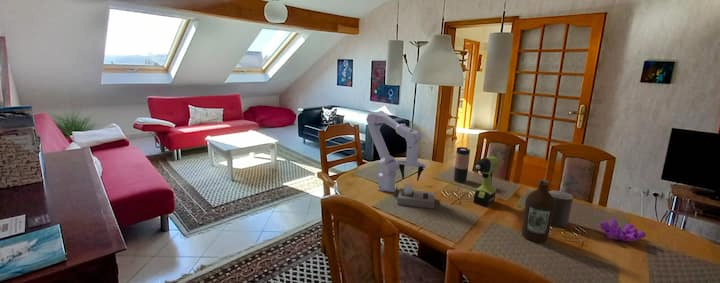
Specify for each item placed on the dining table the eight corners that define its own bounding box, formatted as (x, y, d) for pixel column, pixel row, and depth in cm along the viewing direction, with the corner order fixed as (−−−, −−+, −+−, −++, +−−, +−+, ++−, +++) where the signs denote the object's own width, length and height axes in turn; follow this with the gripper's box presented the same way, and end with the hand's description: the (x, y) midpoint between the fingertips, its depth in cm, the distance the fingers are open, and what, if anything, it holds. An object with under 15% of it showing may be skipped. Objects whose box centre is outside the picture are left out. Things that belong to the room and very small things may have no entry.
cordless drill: (477, 214, 151) (484, 164, 144) (463, 209, 155) (469, 161, 149) (496, 199, 167) (502, 154, 161) (483, 195, 172) (488, 151, 165)
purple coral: (596, 238, 139) (599, 217, 141) (641, 250, 131) (643, 227, 133) (600, 233, 130) (603, 211, 133) (648, 245, 122) (651, 221, 124)
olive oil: (520, 227, 140) (529, 174, 133) (548, 234, 135) (559, 179, 128) (519, 239, 131) (528, 182, 124) (549, 246, 126) (560, 188, 119)
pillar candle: (555, 229, 139) (561, 197, 135) (537, 218, 148) (543, 188, 144) (572, 226, 142) (579, 195, 138) (554, 216, 151) (560, 186, 147)
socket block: (397, 204, 160) (397, 197, 159) (399, 194, 171) (400, 188, 170) (433, 208, 156) (434, 202, 155) (434, 198, 167) (434, 192, 166)
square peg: (403, 201, 163) (403, 186, 161) (404, 198, 167) (404, 183, 165) (410, 202, 162) (411, 187, 160) (411, 199, 166) (412, 184, 164)
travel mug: (452, 181, 191) (455, 149, 185) (454, 177, 197) (458, 146, 192) (465, 184, 187) (469, 151, 182) (467, 179, 194) (471, 148, 188)
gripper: (397, 155, 161) (395, 180, 165) (426, 158, 158) (424, 183, 161) (398, 151, 168) (397, 175, 171) (426, 154, 164) (424, 178, 168)
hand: (410, 179), depth 167 cm, fingers open, 7 cm apart
